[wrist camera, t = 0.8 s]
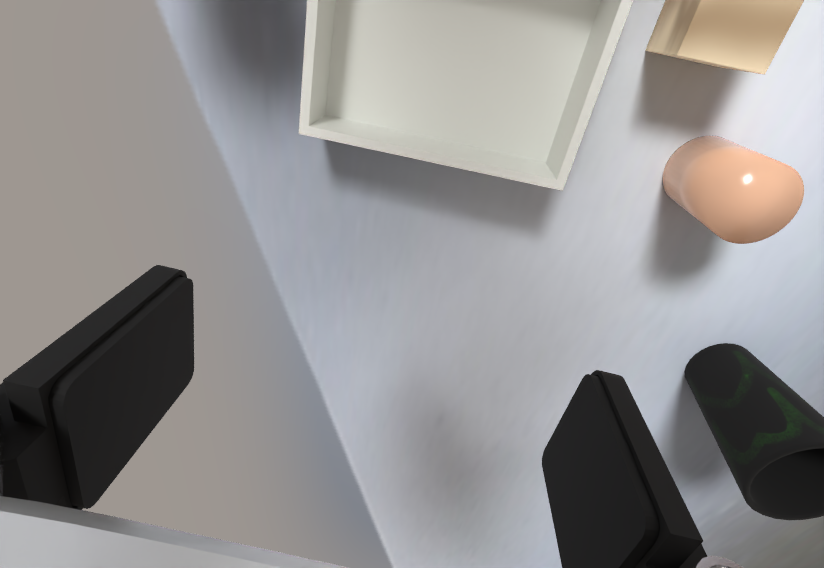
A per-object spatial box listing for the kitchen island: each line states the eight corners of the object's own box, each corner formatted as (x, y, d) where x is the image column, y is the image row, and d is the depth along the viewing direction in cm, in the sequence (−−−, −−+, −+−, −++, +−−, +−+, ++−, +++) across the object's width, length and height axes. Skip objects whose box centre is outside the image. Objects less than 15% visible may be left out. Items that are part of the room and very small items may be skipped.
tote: (339, -112, 27) (316, -139, 22) (624, -48, 27) (656, -62, 23) (319, 119, 33) (298, 133, 29) (549, 169, 34) (562, 190, 29)
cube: (682, -43, 27) (725, -56, 23) (763, -24, 27) (822, -34, 23) (644, 50, 29) (677, 54, 25) (719, 67, 30) (764, 74, 25)
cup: (707, 413, 43) (786, 534, 33) (654, 371, 42) (720, 486, 31) (784, 365, 40) (900, 484, 30) (730, 317, 38) (833, 426, 28)
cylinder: (682, 128, 31) (736, 153, 25) (752, 144, 32) (823, 172, 25) (650, 197, 34) (692, 234, 28) (715, 211, 34) (771, 251, 28)
